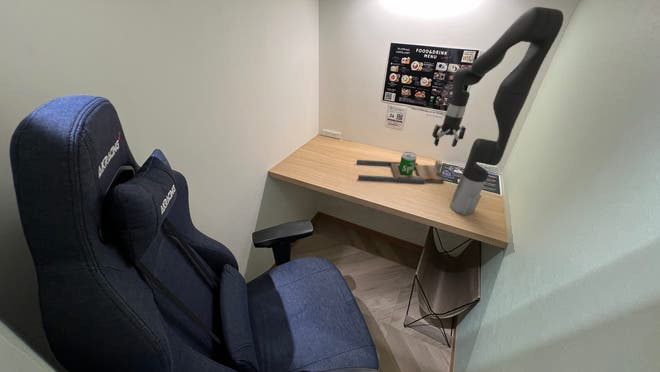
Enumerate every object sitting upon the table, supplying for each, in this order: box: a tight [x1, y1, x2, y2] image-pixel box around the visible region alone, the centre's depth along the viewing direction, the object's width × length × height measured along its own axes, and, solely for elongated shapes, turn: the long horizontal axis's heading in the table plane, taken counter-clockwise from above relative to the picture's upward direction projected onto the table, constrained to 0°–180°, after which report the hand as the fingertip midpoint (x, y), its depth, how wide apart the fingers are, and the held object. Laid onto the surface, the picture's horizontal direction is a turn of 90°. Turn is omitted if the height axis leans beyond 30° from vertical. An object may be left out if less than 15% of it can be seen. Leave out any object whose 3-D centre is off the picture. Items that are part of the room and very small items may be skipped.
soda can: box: [399, 151, 417, 176], centre depth 137 cm, size 8×8×12 cm
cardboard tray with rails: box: [390, 159, 445, 184], centre depth 137 cm, size 25×14×8 cm, turn 88°
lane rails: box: [356, 159, 426, 185], centre depth 139 cm, size 34×17×2 cm, turn 88°
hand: (444, 145), depth 130 cm, fingers open, 8 cm apart
